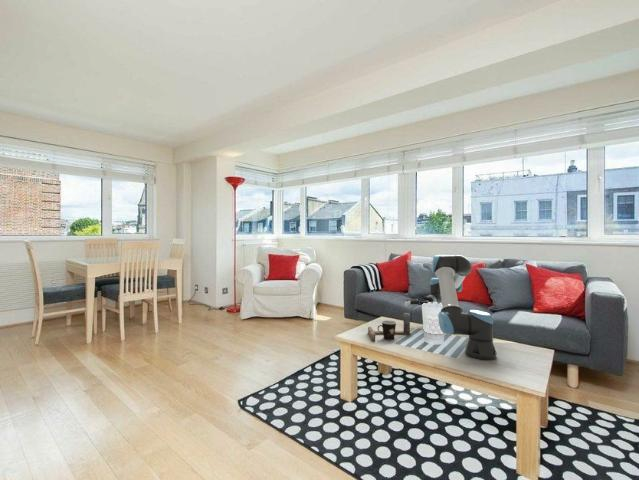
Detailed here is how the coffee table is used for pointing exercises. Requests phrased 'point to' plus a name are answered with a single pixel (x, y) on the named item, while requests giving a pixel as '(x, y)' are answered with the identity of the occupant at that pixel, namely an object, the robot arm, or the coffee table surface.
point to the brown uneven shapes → (406, 331)
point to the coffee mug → (388, 329)
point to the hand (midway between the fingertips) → (414, 306)
